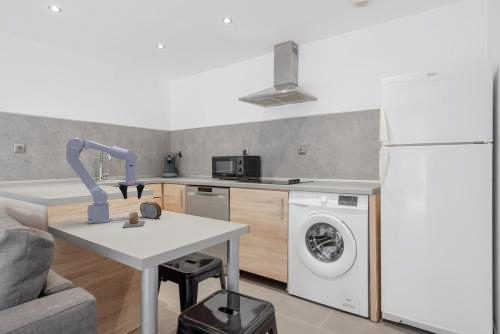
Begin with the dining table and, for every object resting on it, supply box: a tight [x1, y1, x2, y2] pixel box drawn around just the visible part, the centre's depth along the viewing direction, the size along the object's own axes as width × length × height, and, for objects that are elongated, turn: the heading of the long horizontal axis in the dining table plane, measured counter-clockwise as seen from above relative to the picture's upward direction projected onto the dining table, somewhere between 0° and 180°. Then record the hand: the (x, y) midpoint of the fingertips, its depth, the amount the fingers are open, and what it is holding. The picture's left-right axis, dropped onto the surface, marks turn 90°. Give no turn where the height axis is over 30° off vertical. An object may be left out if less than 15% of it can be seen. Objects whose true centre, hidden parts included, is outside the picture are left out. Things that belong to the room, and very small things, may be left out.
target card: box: [122, 220, 146, 229], centre depth 134 cm, size 9×10×1 cm
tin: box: [139, 201, 162, 220], centre depth 151 cm, size 15×3×8 cm, turn 58°
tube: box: [128, 211, 139, 224], centre depth 134 cm, size 4×4×5 cm
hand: (132, 198), depth 150 cm, fingers open, 7 cm apart
